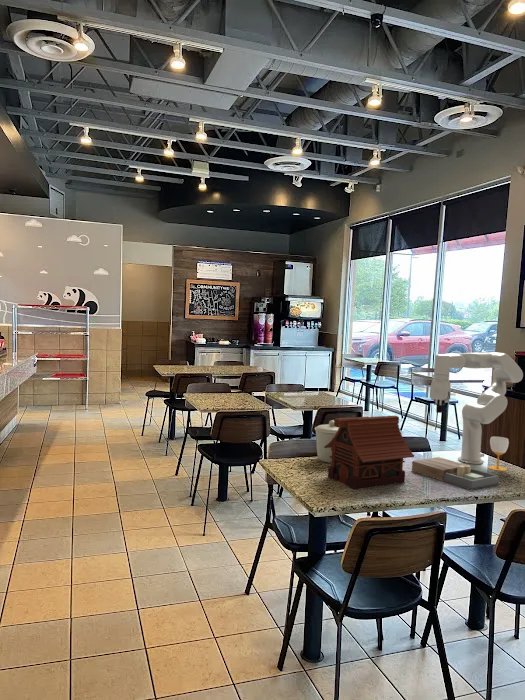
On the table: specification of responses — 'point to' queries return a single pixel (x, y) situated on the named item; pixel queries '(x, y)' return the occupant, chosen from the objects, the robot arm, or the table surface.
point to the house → (368, 452)
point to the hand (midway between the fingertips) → (439, 412)
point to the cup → (498, 450)
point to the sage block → (472, 476)
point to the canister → (325, 440)
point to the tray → (472, 484)
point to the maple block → (463, 470)
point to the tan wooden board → (435, 467)
